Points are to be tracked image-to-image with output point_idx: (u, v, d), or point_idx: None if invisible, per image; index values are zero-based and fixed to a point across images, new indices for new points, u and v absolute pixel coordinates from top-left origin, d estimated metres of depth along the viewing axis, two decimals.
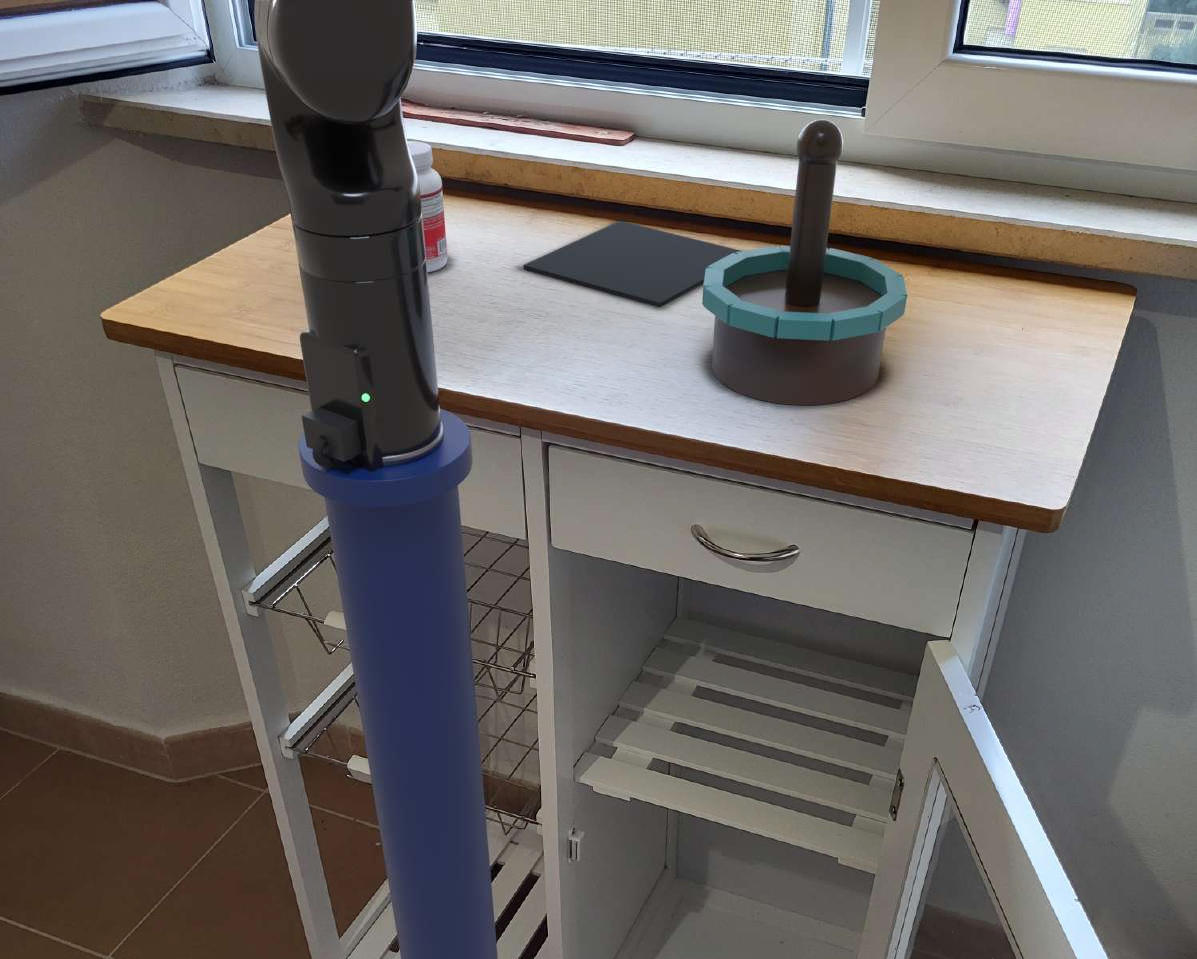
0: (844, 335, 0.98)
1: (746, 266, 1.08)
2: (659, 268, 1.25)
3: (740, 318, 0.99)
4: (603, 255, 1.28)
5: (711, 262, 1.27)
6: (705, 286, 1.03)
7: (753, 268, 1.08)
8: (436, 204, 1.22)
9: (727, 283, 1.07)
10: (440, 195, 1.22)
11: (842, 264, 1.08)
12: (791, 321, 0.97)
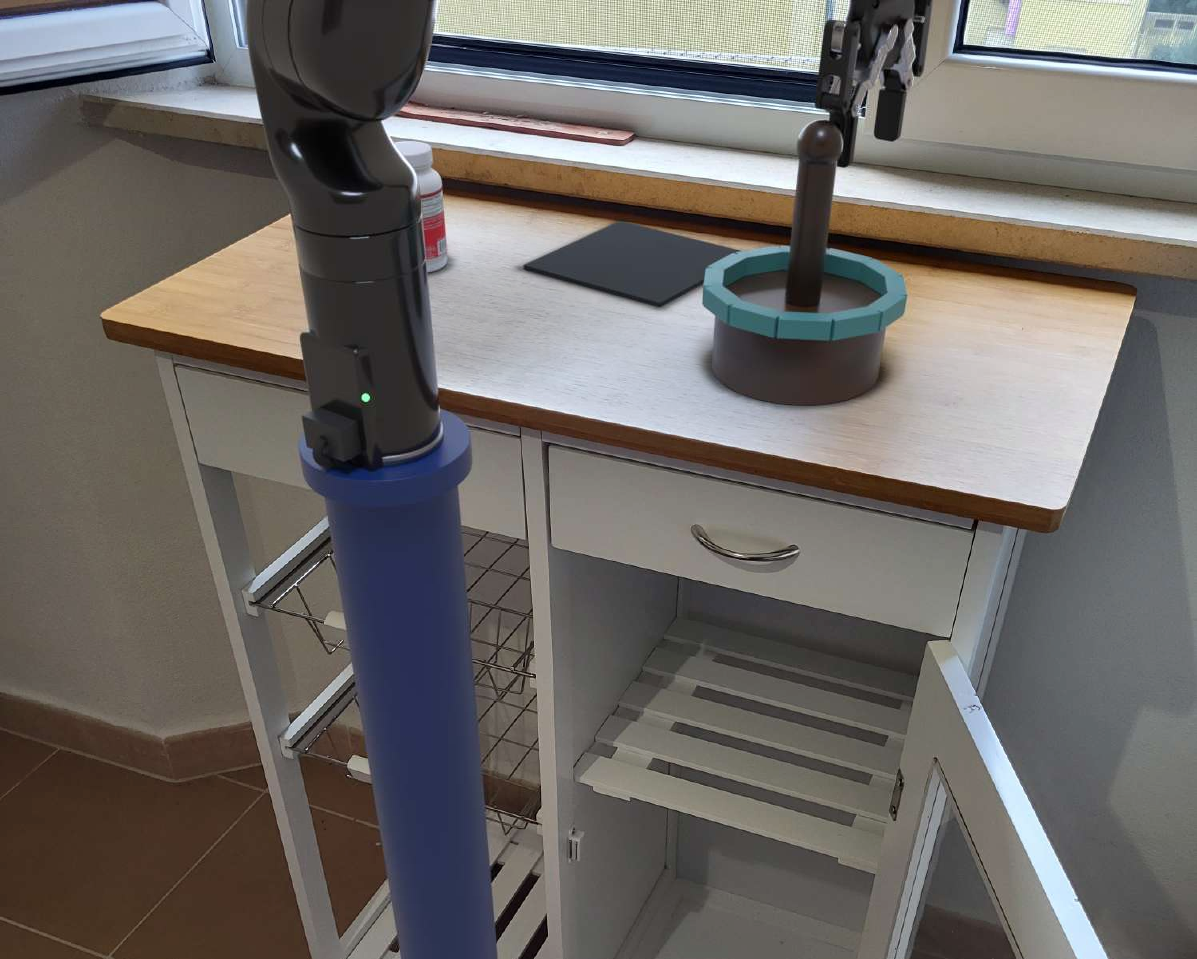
0: (844, 335, 0.98)
1: (746, 266, 1.08)
2: (659, 268, 1.25)
3: (740, 318, 0.99)
4: (603, 255, 1.28)
5: (711, 262, 1.27)
6: (705, 286, 1.03)
7: (753, 268, 1.08)
8: (436, 204, 1.22)
9: (727, 283, 1.07)
10: (440, 195, 1.22)
11: (842, 264, 1.08)
12: (791, 321, 0.97)
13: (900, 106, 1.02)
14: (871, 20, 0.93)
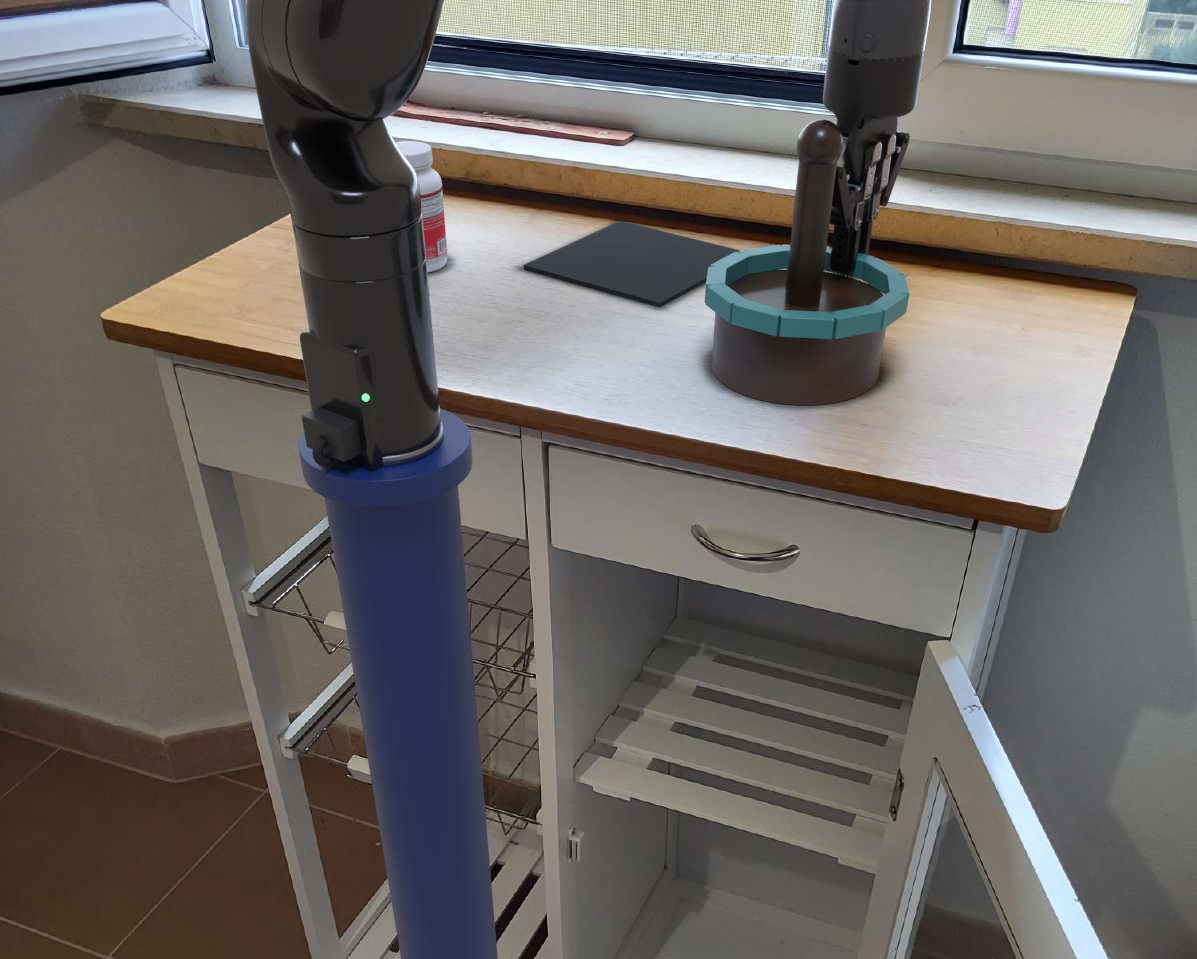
0: (847, 334, 0.99)
1: (749, 265, 1.08)
2: (659, 268, 1.25)
3: (743, 317, 1.00)
4: (603, 255, 1.28)
5: (711, 262, 1.27)
6: (708, 285, 1.03)
7: (755, 267, 1.09)
8: (436, 204, 1.22)
9: (729, 282, 1.07)
10: (440, 195, 1.22)
11: None
12: (794, 320, 0.98)
13: (866, 235, 1.07)
14: (854, 145, 0.99)
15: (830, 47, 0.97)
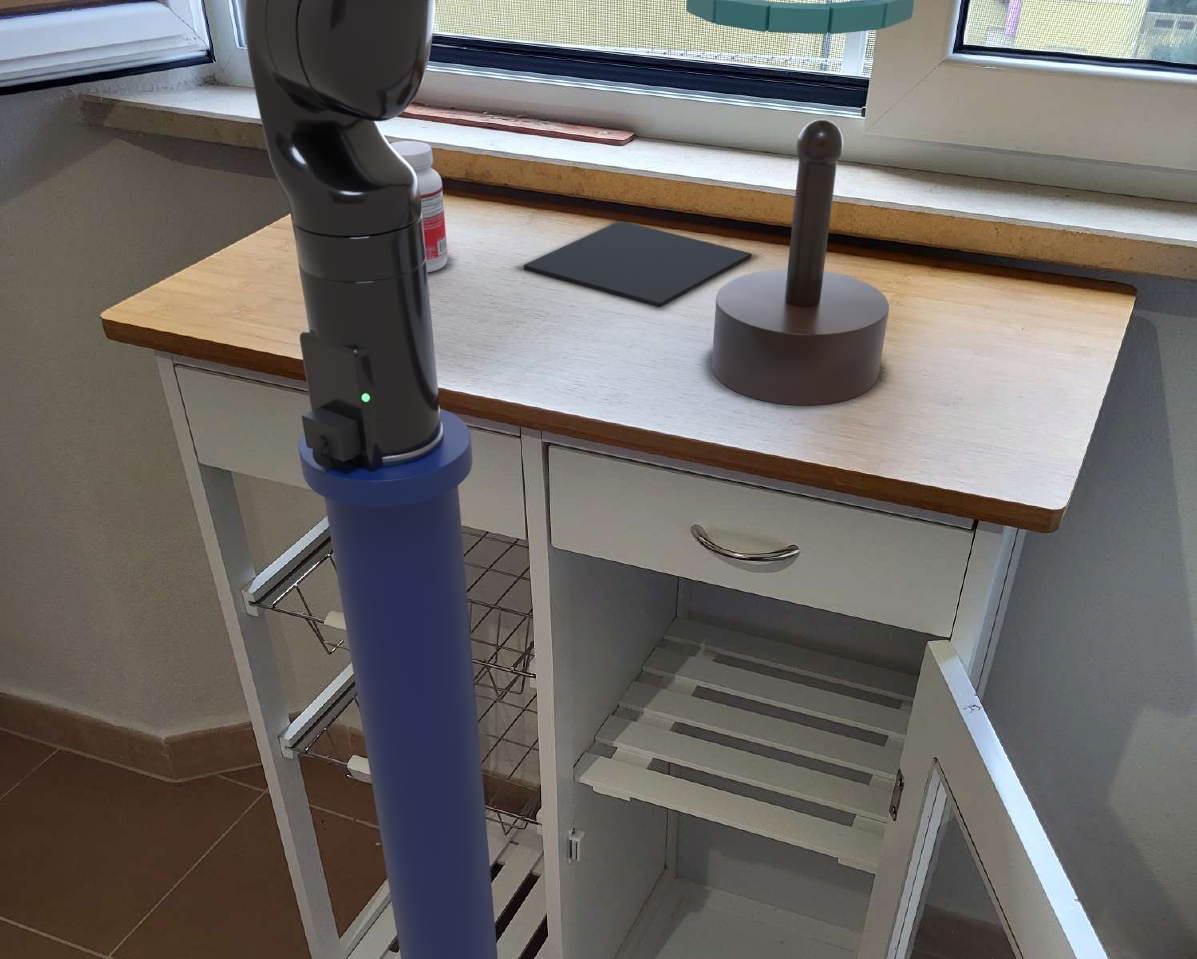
0: (844, 29, 0.88)
1: None
2: (659, 268, 1.25)
3: (728, 13, 0.89)
4: (603, 255, 1.28)
5: (711, 262, 1.27)
6: None
7: None
8: (436, 204, 1.22)
9: None
10: (440, 195, 1.22)
11: None
12: (784, 9, 0.87)
13: None
14: None
15: None
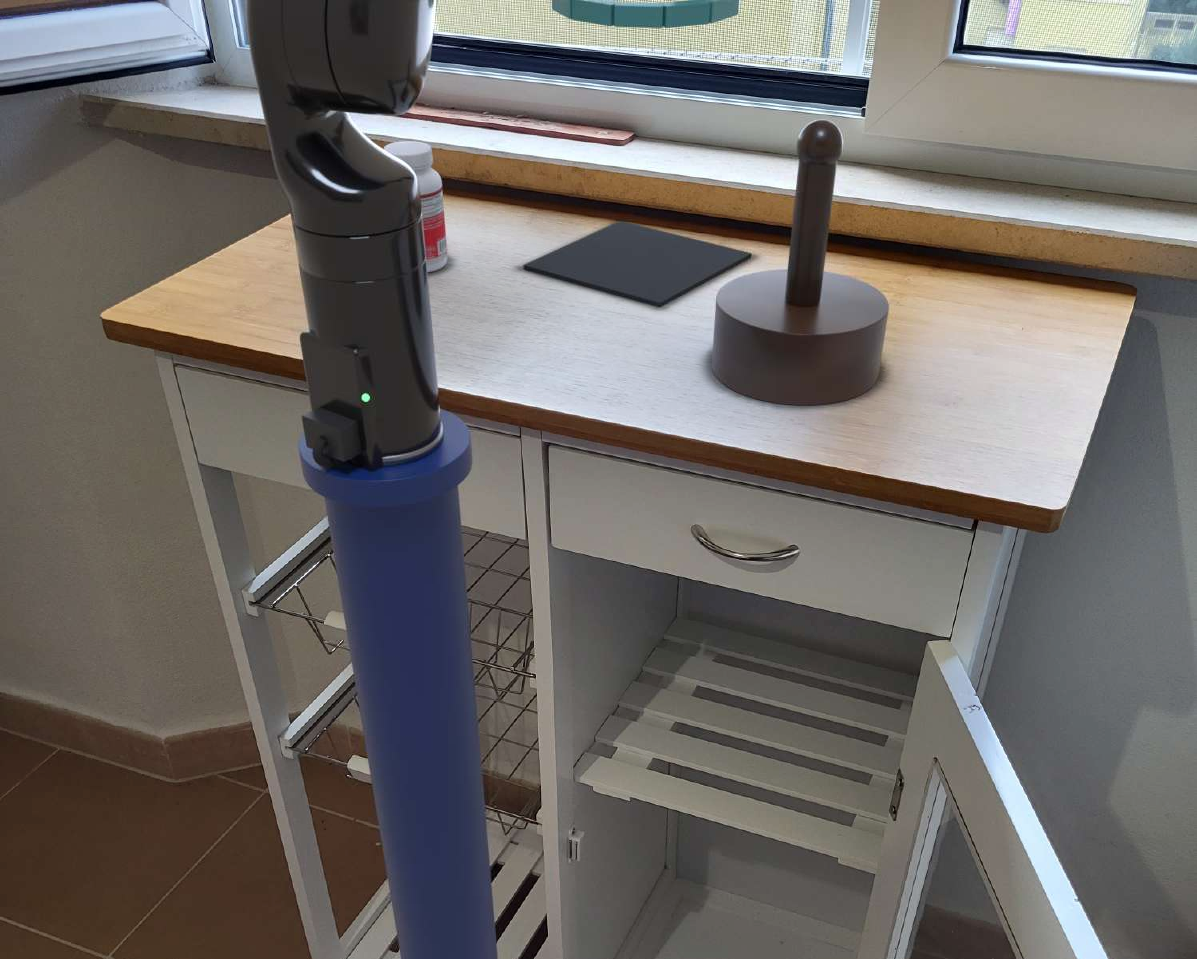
0: (676, 23, 1.06)
1: None
2: (659, 268, 1.25)
3: (582, 10, 1.07)
4: (603, 255, 1.28)
5: (711, 262, 1.27)
6: None
7: None
8: (436, 204, 1.22)
9: None
10: (440, 195, 1.22)
11: None
12: (626, 7, 1.05)
13: None
14: None
15: None
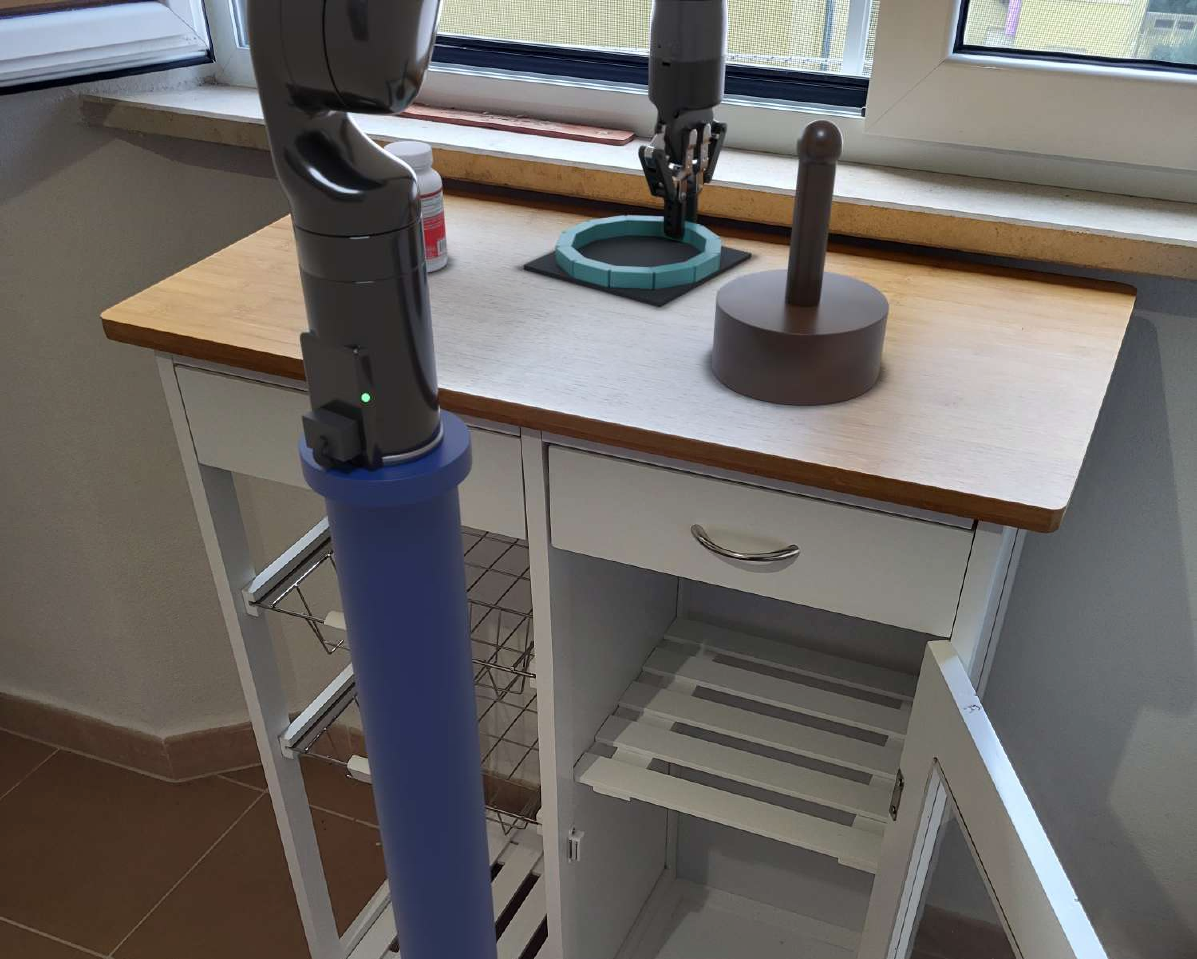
0: (665, 285, 1.21)
1: (597, 232, 1.31)
2: None
3: (582, 272, 1.22)
4: (603, 255, 1.28)
5: None
6: (557, 247, 1.25)
7: (603, 234, 1.31)
8: (436, 204, 1.22)
9: (579, 245, 1.29)
10: (440, 195, 1.22)
11: None
12: (620, 273, 1.20)
13: (693, 207, 1.30)
14: (672, 131, 1.21)
15: (649, 52, 1.20)
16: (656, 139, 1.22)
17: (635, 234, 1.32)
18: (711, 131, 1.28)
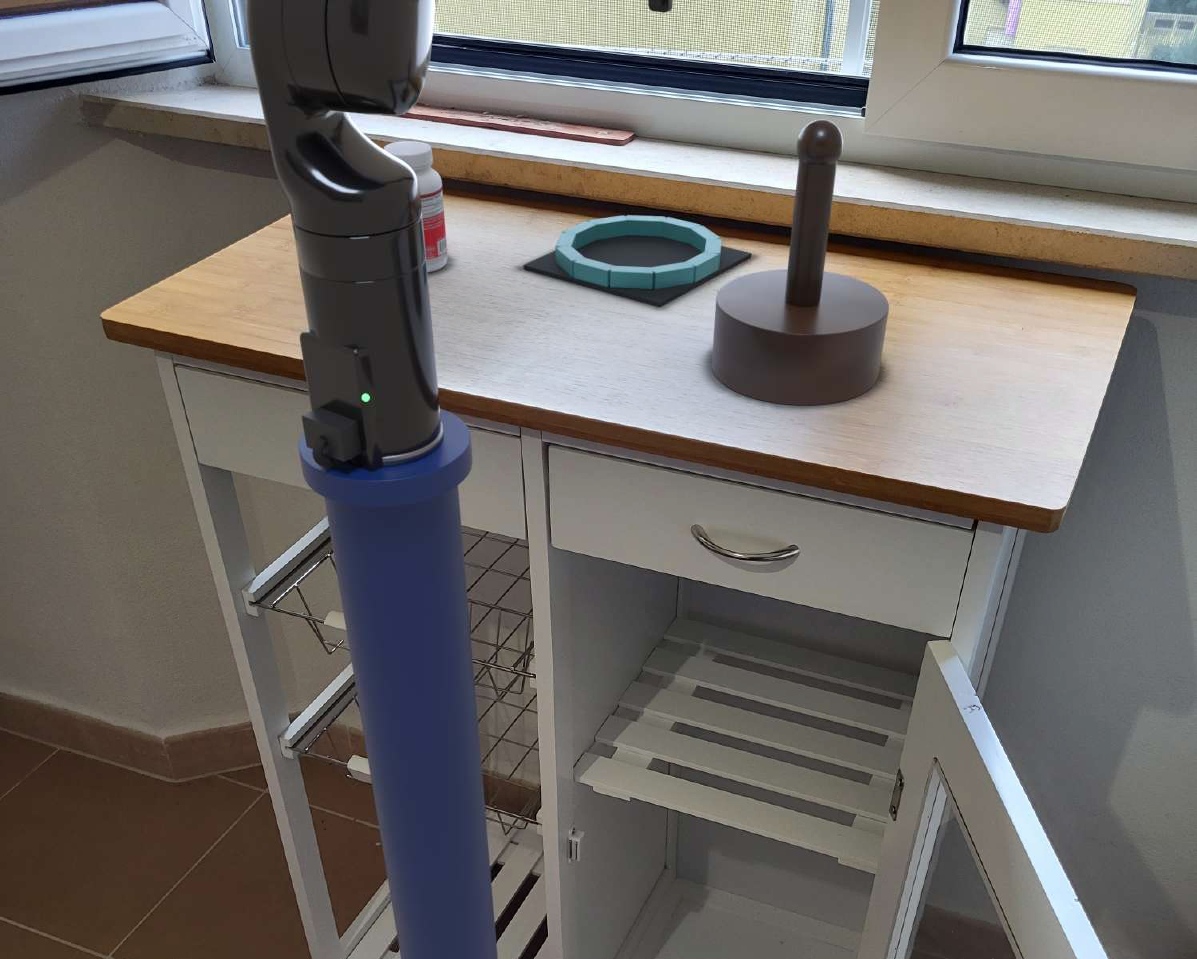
0: (665, 285, 1.21)
1: (597, 232, 1.31)
2: None
3: (582, 272, 1.22)
4: (603, 255, 1.28)
5: None
6: (557, 247, 1.25)
7: (603, 234, 1.31)
8: (436, 204, 1.22)
9: (579, 245, 1.29)
10: (440, 195, 1.22)
11: (676, 230, 1.31)
12: (620, 273, 1.20)
13: None
14: None
15: None
16: None
17: (635, 234, 1.32)
18: None
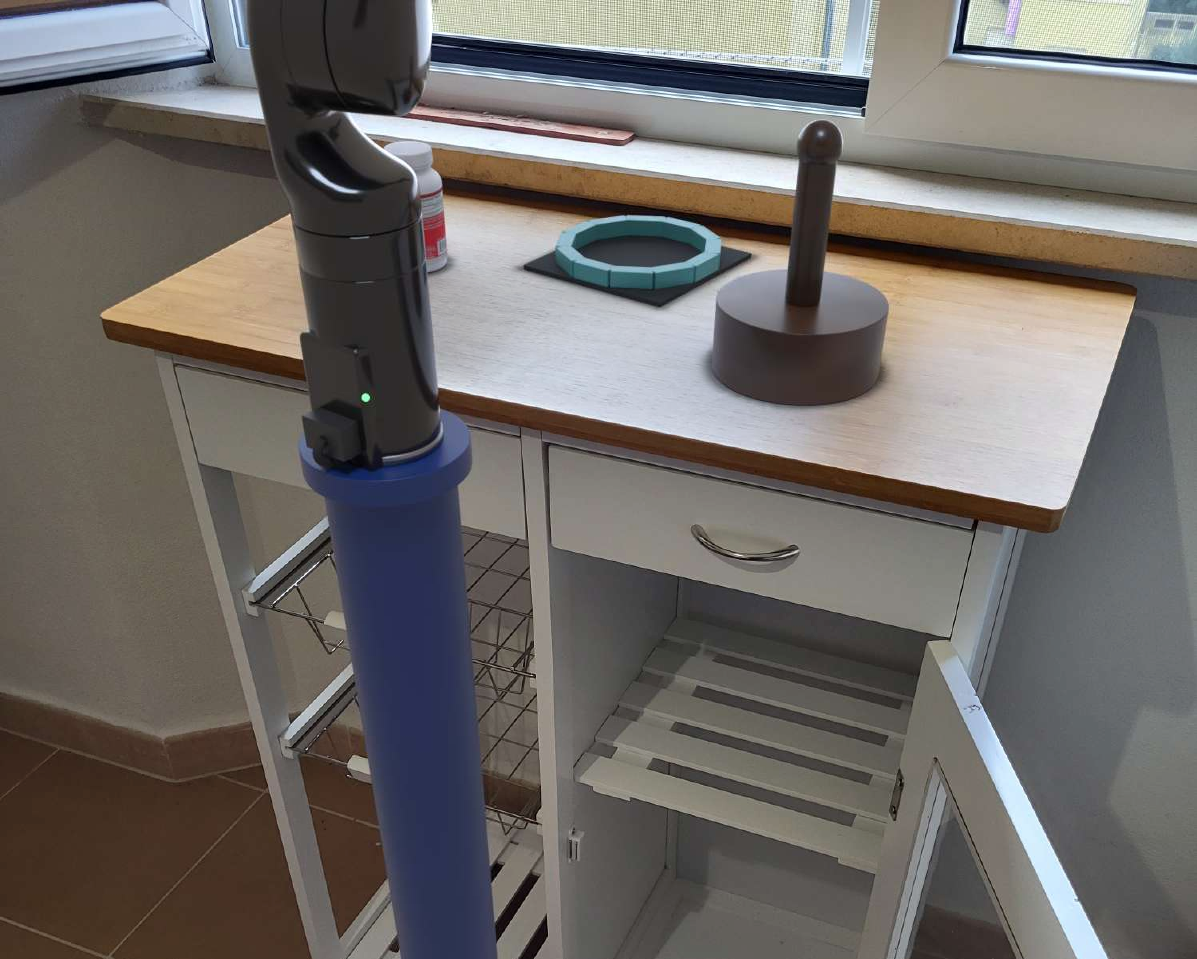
0: (665, 285, 1.21)
1: (597, 232, 1.31)
2: None
3: (582, 272, 1.22)
4: (603, 255, 1.28)
5: None
6: (557, 247, 1.25)
7: (603, 234, 1.31)
8: (436, 204, 1.22)
9: (579, 245, 1.29)
10: (440, 195, 1.22)
11: (676, 230, 1.31)
12: (620, 273, 1.20)
13: None
14: None
15: None
16: None
17: (635, 234, 1.32)
18: None
